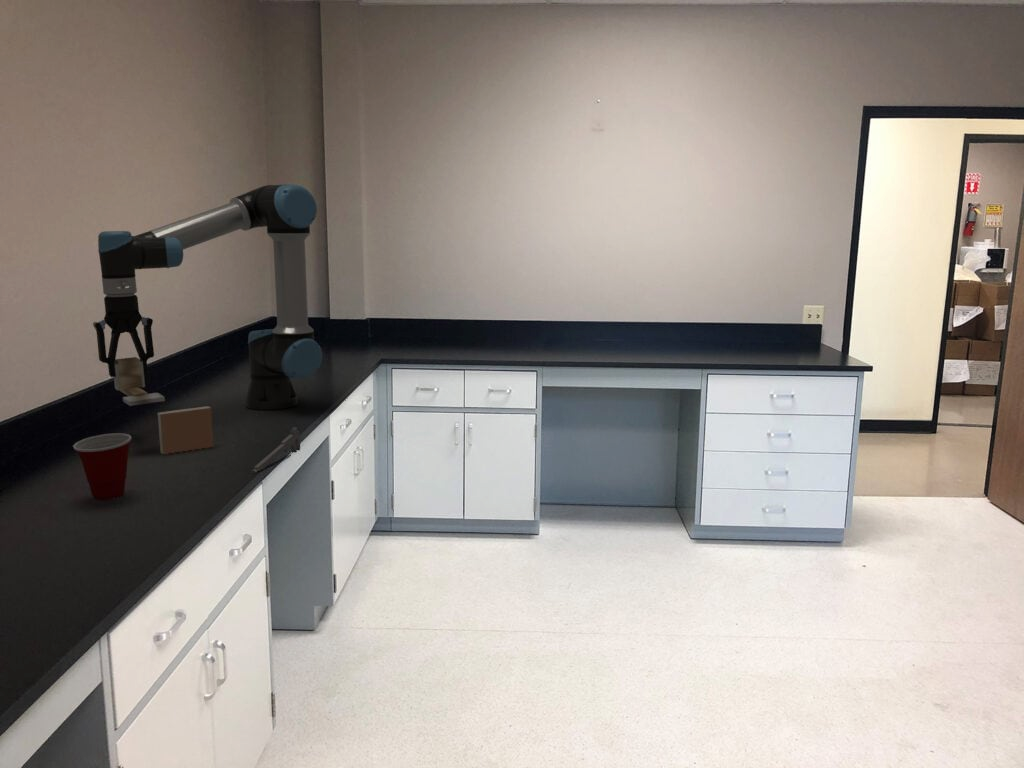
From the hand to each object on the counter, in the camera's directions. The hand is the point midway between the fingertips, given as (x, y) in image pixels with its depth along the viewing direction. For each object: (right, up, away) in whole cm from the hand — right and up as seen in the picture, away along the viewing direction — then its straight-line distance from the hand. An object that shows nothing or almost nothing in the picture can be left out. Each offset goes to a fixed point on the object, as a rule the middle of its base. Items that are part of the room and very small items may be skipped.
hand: (130, 387), depth 215 cm
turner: (+2, -2, -3) cm, 4 cm away
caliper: (+41, -18, -14) cm, 46 cm away
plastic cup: (+13, -22, -39) cm, 47 cm away
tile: (+16, -15, -5) cm, 23 cm away
